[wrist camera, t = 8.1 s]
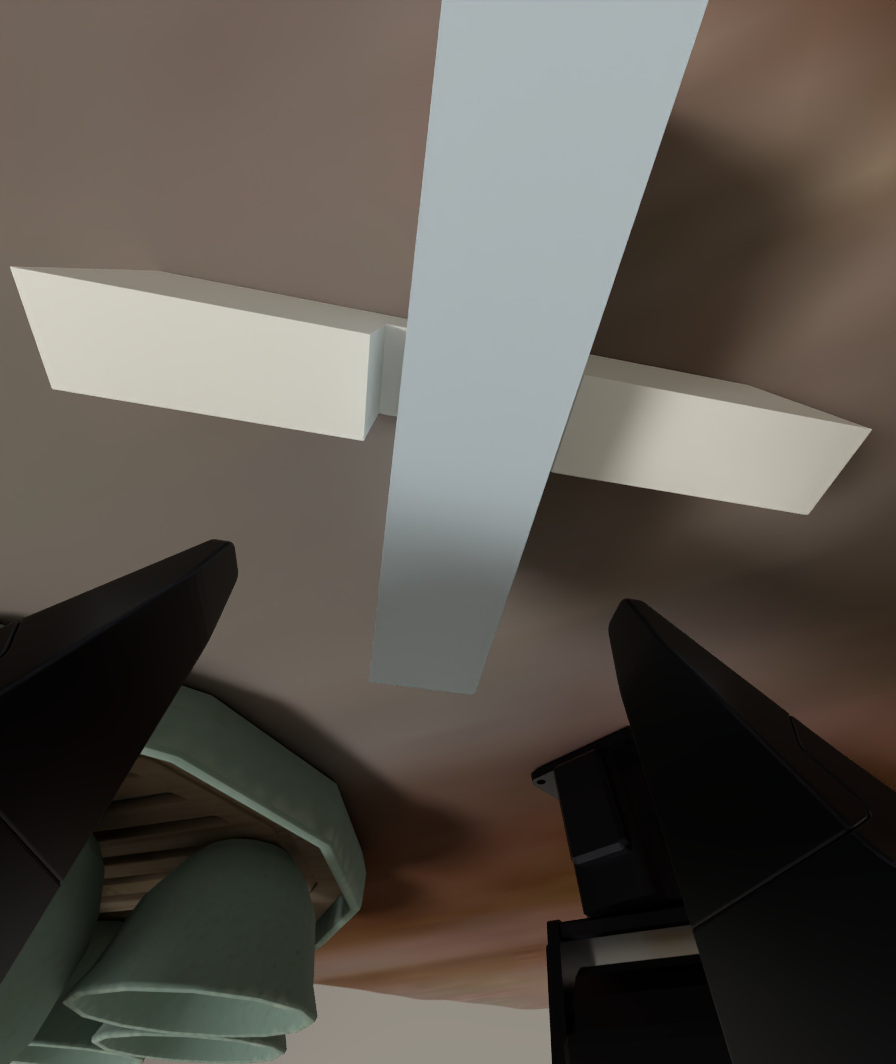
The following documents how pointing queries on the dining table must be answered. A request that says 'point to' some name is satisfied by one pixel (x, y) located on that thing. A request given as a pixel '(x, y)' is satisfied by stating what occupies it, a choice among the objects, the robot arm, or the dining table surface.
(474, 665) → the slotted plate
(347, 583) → the dining table surface
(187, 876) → the tea set
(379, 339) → the slotted rib
